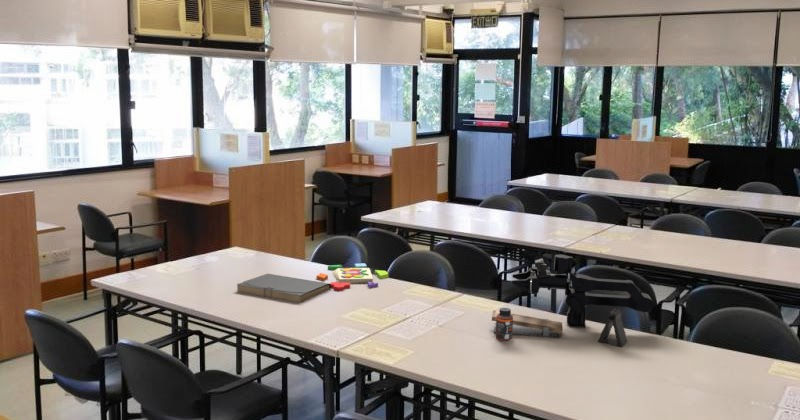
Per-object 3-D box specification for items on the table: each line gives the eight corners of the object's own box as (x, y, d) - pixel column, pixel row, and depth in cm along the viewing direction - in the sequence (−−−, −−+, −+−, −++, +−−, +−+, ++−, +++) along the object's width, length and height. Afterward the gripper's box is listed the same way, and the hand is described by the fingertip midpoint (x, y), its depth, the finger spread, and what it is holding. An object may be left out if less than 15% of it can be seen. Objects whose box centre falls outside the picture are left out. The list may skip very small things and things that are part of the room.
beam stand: (558, 328, 278) (559, 319, 278) (559, 338, 267) (560, 329, 267) (494, 323, 282) (495, 315, 282) (493, 333, 272) (493, 324, 271)
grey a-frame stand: (627, 342, 265) (630, 311, 262) (622, 347, 260) (624, 315, 258) (603, 337, 270) (605, 306, 268) (597, 342, 265) (599, 310, 263)
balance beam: (561, 326, 276) (562, 322, 276) (562, 333, 268) (562, 329, 268) (492, 313, 280) (493, 310, 280) (491, 320, 272) (492, 316, 272)
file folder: (236, 283, 317) (270, 272, 338) (236, 292, 318) (270, 280, 339) (300, 294, 303) (331, 281, 324) (300, 304, 303) (330, 290, 325)
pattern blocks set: (306, 271, 355) (306, 265, 354) (371, 266, 368) (371, 260, 367) (331, 292, 320) (331, 285, 320) (401, 285, 333) (401, 279, 333)
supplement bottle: (511, 342, 262) (513, 312, 260) (494, 341, 263) (496, 310, 261) (512, 337, 268) (513, 307, 266) (496, 335, 269) (497, 306, 267)
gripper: (553, 255, 290) (513, 253, 292) (555, 266, 272) (512, 264, 274) (552, 282, 292) (512, 280, 294) (553, 295, 273) (511, 293, 276)
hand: (512, 278), depth 285 cm, fingers open, 9 cm apart
